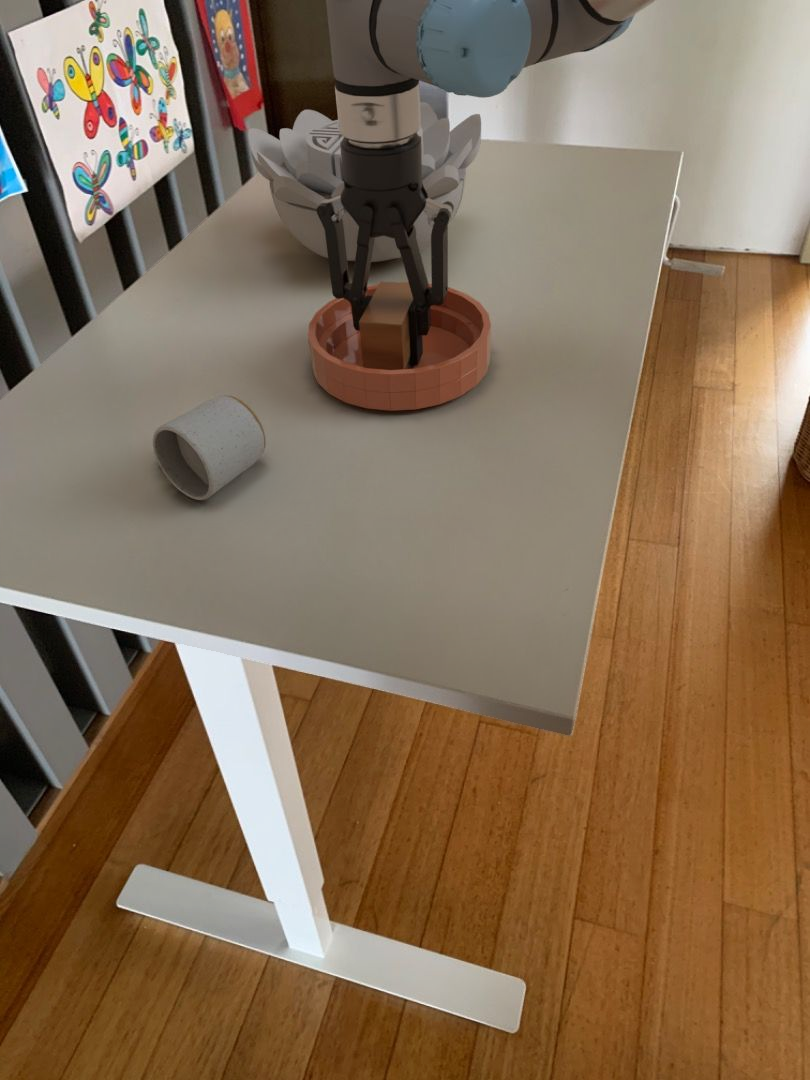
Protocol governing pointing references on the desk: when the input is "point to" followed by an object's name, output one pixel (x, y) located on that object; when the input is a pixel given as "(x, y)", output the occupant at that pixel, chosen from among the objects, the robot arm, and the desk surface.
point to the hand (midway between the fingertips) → (394, 356)
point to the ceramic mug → (209, 446)
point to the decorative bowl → (316, 172)
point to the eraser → (387, 328)
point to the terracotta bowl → (441, 375)
